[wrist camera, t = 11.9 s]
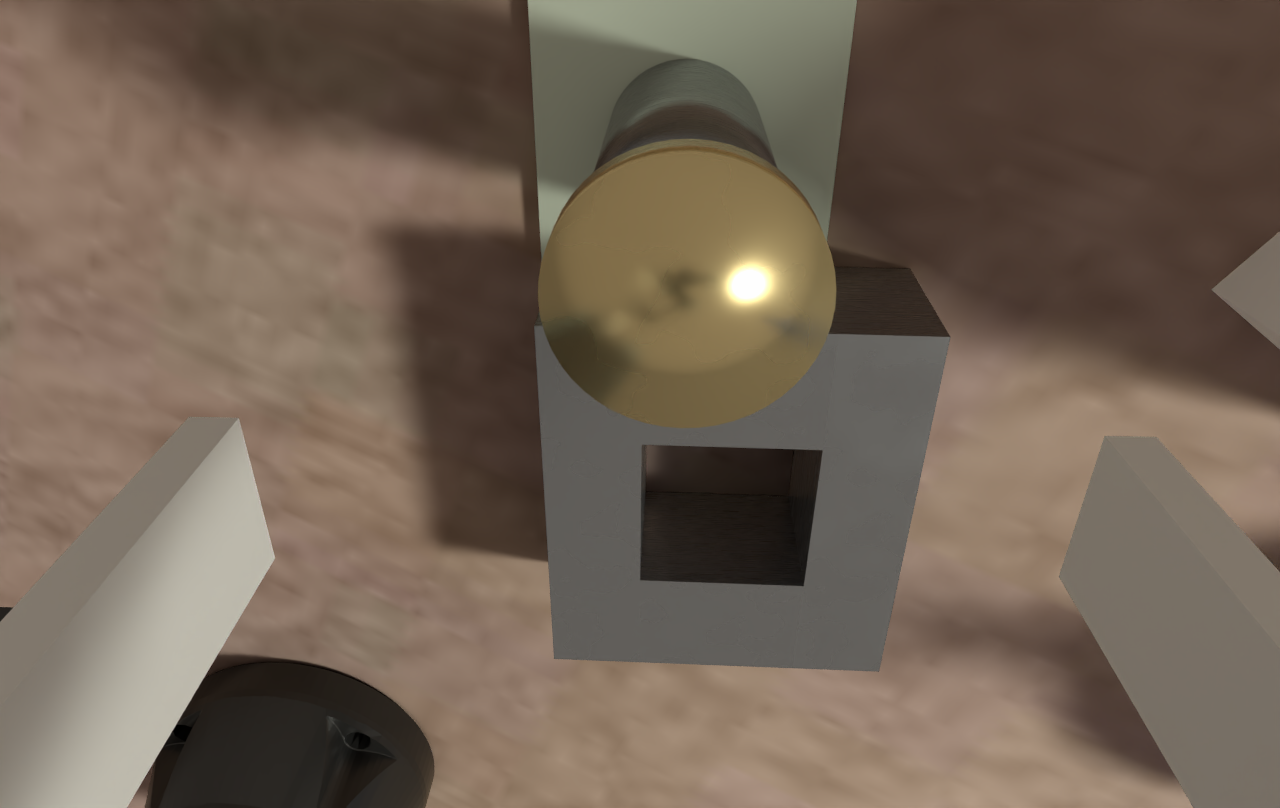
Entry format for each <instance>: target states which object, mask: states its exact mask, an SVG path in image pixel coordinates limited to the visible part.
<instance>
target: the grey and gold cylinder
mask: <svg viewBox="0 0 1280 808" xmlns="http://www.w3.org/2000/svg"><path fill="white" fill-rule="evenodd" d="M538 303H539V311H540V318H541V322H542V325H543V329H544V333H545V335H546V338H547V340H548V342H549V345H550V347H551V350H552V351H553V353H554V355H555V356H556V358H557V360H558V361H559V363H560V365H561V366H562V367H563V369H564V370H565V371H566V372H567V374H568V375H569V376H570V378H571V379H572V380H573V381H574V382H575V383H576V384H577V385H578V386H579V387H580V388H581V389H582V390H583V391H585V392H586V393H587V394H588V395H590V396H591V397H592V398H594V399H595V400H596V401H597V402H599V403H601V404H602V405H604V406H606V407H607V408H609V409H611V410H612V411H615V412H617V413H619V414H621V415H624V416H626V417H628V418H631V419H634V420H637V421H640V422H643V423H647V424H652V425H657V426H662V427H672V428H701V427H708V426H716V425H720V424H724V423H728V422H732V421H735V420H738V419H741V418H743V417H746V416H749V415H751V414H753V413H755V412H757V411H759V410H761V409H763V408H765V407H767V406H768V405H770V404H771V403H773V402H774V401H776V400H777V399H779V398H780V397H782V396H783V395H784V394H785V393H786V392H788V391H789V390H790V389H791V388H792V387H793V386H794V385H796V383H797V382H798V381H799V380H800V379H801V378H802V377H803V376H804V375H805V374H806V372H807V371H808V370H809V368H810V367H811V365H812V364H813V363H814V361H815V360H816V358H817V357H818V355H819V353H820V351H821V349H822V347H823V345H824V343H825V341H826V339H827V336H828V333H829V330H830V328H831V325H832V320H833V315H834V311H835V304H836V277H835V268H834V264H833V260H832V255H831V252H830V249H829V246H828V244H827V241H826V239H825V236H824V234H823V231H822V229H821V226H820V224H819V221H818V219H817V216H816V214H815V213H814V211H813V209H812V207H811V206H810V204H809V202H808V200H807V199H806V198H805V196H804V195H803V194H802V193H801V191H800V190H799V189H798V187H797V186H796V185H795V184H794V183H793V182H792V181H791V180H790V179H789V178H788V177H787V176H786V175H785V174H784V173H783V172H781V171H780V170H779V169H778V168H777V165H776V162H775V159H774V156H773V153H772V150H771V147H770V144H769V141H768V138H767V134H766V131H765V128H764V125H763V122H762V119H761V116H760V113H759V111H758V108H757V106H756V103H755V101H754V99H753V97H752V96H751V94H750V92H749V91H748V90H747V88H746V87H745V86H744V84H743V83H742V82H741V81H740V80H739V79H738V78H737V77H735V76H734V75H733V74H731V73H730V72H729V71H727V70H725V69H724V68H722V67H720V66H718V65H715V64H713V63H710V62H707V61H702V60H697V59H676V60H671V61H666V62H663V63H660V64H657V65H655V66H653V67H651V68H649V69H647V70H646V71H644V72H643V73H641V74H640V75H638V76H637V77H636V78H635V79H634V80H633V81H632V82H630V84H629V85H628V86H627V87H626V88H625V90H624V91H623V92H622V94H621V95H620V97H619V98H618V100H617V102H616V104H615V107H614V109H613V112H612V115H611V118H610V121H609V124H608V127H607V131H606V134H605V137H604V140H603V143H602V147H601V150H600V153H599V156H598V160H597V163H596V166H595V169H594V172H593V173H592V174H591V175H590V176H589V177H588V178H587V179H585V180H584V181H583V182H582V184H581V185H580V186H579V187H578V188H577V189H576V190H575V192H574V193H573V194H572V195H571V196H570V198H569V200H568V201H567V203H566V204H565V206H564V207H563V209H562V210H561V212H560V214H559V216H558V219H557V221H556V223H555V225H554V227H553V230H552V232H551V235H550V238H549V240H548V243H547V246H546V249H545V252H544V255H543V259H542V262H541V267H540V273H539V279H538Z"/></svg>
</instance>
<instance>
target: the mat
mask: <svg viewBox="0 0 1280 808" xmlns="http://www.w3.org/2000/svg"><path fill="white" fill-rule="evenodd" d="M856 4H857V0H528V15H529V34H530V53H531V72H532V91H533V109H534V128H535V147H536V166H537V185H538V204H539V223H540V242H541V261H542V259H543V255H544V252H545V249H546V246H547V243H548V240H549V238H550V235H551V232H552V230H553V227H554V225H555V223H556V221H557V219H558V216H559V214H560V212H561V210H562V209H563V207H564V206H565V204H566V203H567V201H568V200H569V198H570V196H571V195H572V194H573V193H574V192H575V190H576V189H577V188H578V187H579V186H580V185H581V184H582V182H583V181H584V180H585V179H587V178H588V177H589V176H590V175H591V174H592V173H593V172H594V169H595V166H596V163H597V160H598V156H599V153H600V150H601V147H602V143H603V140H604V137H605V134H606V131H607V127H608V124H609V121H610V118H611V115H612V112H613V109H614V107H615V104H616V102H617V100H618V98H619V97H620V95H621V94H622V92H623V91H624V90H625V88H626V87H627V86H628V85H629V84H630V82H632V81H633V80H634V79H635V78H636V77H637V76H638V75H640V74H641V73H643V72H644V71H646V70H647V69H649V68H651V67H653V66H655V65H657V64H660V63H663V62H666V61H671V60H676V59H697V60H702V61H707V62H710V63H713V64H715V65H718V66H720V67H722V68H724V69H725V70H727V71H729V72H730V73H731V74H733V75H734V76H735V77H737V78H738V79H739V80H740V81H741V82H742V83H743V84H744V86H745V87H746V88H747V90H748V91H749V92H750V94H751V96H752V97H753V99H754V101H755V103H756V106H757V108H758V111H759V113H760V116H761V119H762V122H763V125H764V128H765V131H766V134H767V138H768V141H769V144H770V147H771V150H772V153H773V156H774V159H775V162H776V165H777V168H778V169H779V170H780V171H781V172H783V173H784V174H785V175H786V176H787V177H788V178H789V179H790V180H791V181H792V182H793V183H794V184H795V185H796V186H797V187H798V189H799V190H800V191H801V193H802V194H803V195H804V196H805V198H806V199H807V200H808V202H809V204H810V206H811V207H812V209H813V211H814V213H815V214H816V216H817V219H818V221H819V224H820V226H821V229H822V231H823V234H824V236H825V239H826V241H827V237H828V229H829V221H830V213H831V205H832V197H833V189H834V181H835V173H836V165H837V156H838V148H839V140H840V132H841V124H842V116H843V108H844V100H845V92H846V84H847V76H848V68H849V60H850V52H851V44H852V36H853V28H854V20H855V12H856Z"/></svg>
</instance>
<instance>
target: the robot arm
mask: <svg viewBox="0 0 1280 808" xmlns="http://www.w3.org/2000/svg"><path fill="white" fill-rule="evenodd" d="M274 559H275V556H274V552H273V548H272V544H271V541H270V537H269V533H268V529H267V525H266V521H265V517H264V514H263V510H262V506H261V502H260V498H259V494H258V490H257V486H256V483H255V479H254V475H253V471H252V467H251V463H250V459H249V456H248V452H247V448H246V444H245V440H244V436H243V432H242V429H241V425H240V421H239V418H215V417H189V418H188V419H187V420H186V421H185V422H184V423H183V424H182V425H181V426H180V427H179V428H178V430H177V431H176V432H175V433H174V434H173V435H172V436H171V437H170V438H169V439H168V440H167V442H166V443H165V444H164V445H163V446H162V447H161V448H160V449H159V450H158V451H157V452H156V453H155V455H154V456H153V457H152V458H151V459H150V460H149V461H148V462H147V463H146V464H145V465H144V466H143V468H142V469H141V470H140V471H139V472H138V473H137V474H136V475H135V476H134V477H133V478H132V479H131V481H130V482H129V483H128V484H127V485H126V486H125V487H124V488H123V489H122V490H121V491H120V492H119V494H118V495H117V496H116V497H115V498H114V499H113V500H112V501H111V502H110V503H109V504H108V505H107V507H106V508H105V509H104V510H103V511H102V512H101V513H100V514H99V515H98V516H97V517H96V518H95V520H94V521H93V522H92V523H91V524H90V525H89V526H88V527H87V528H86V529H85V530H84V531H83V533H82V534H81V535H80V536H79V537H78V538H77V539H76V540H75V541H74V542H73V543H72V545H71V546H70V547H69V548H68V549H67V550H66V551H65V552H64V553H63V554H62V555H61V556H60V558H59V559H58V560H57V561H56V562H55V563H54V564H53V565H52V566H51V567H50V568H49V569H48V571H47V572H46V573H45V574H44V575H43V576H42V577H41V578H40V579H39V580H38V581H37V582H36V584H35V585H34V586H33V587H32V588H31V589H30V590H29V591H28V592H27V593H26V594H25V595H24V597H23V598H22V599H21V600H20V601H19V602H18V603H17V604H16V605H15V606H14V607H13V608H11V607H0V808H127V807H128V805H129V803H130V802H131V800H132V798H133V796H134V795H135V793H136V791H137V790H138V788H139V786H140V785H141V783H142V781H143V780H144V778H145V776H146V775H147V773H148V771H149V770H150V768H151V766H152V764H153V763H154V766H153V771H152V776H151V781H150V785H149V790H148V795H147V799H146V804H145V808H425V806H426V803H427V799H428V796H429V792H430V789H431V785H432V781H433V777H434V759H433V755H432V751H431V748H430V746H429V743H428V741H427V739H426V737H425V736H424V734H423V732H422V731H421V730H420V728H419V727H418V725H417V724H416V723H415V722H414V721H413V719H412V718H411V717H410V716H409V715H408V714H407V713H406V712H405V711H404V710H402V709H401V708H400V707H399V706H398V705H396V704H395V703H394V702H393V701H391V700H390V699H388V698H387V697H386V696H384V695H382V694H381V693H379V692H378V691H376V690H374V689H372V688H371V687H369V686H367V685H365V684H363V683H361V682H358V681H356V680H354V679H351V678H349V677H346V676H344V675H341V674H338V673H335V672H331V671H328V670H324V669H320V668H316V667H311V666H305V665H299V664H291V663H255V664H247V665H240V666H236V667H232V668H228V669H225V670H222V671H219V672H217V673H215V674H212V675H210V676H208V677H207V678H205V679H204V677H205V675H206V674H207V672H208V670H209V668H210V667H211V665H212V663H213V662H214V660H215V658H216V657H217V655H218V653H219V652H220V650H221V648H222V647H223V645H224V643H225V642H226V640H227V638H228V636H229V635H230V633H231V631H232V630H233V628H234V626H235V625H236V623H237V621H238V620H239V618H240V616H241V615H242V613H243V611H244V610H245V608H246V606H247V604H248V603H249V601H250V599H251V598H252V596H253V594H254V593H255V591H256V589H257V588H258V586H259V584H260V583H261V581H262V579H263V577H264V576H265V574H266V572H267V571H268V569H269V567H270V566H271V564H272V562H273V561H274ZM1059 577H1060V579H1061V581H1062V583H1063V584H1064V586H1065V588H1066V590H1067V591H1068V593H1069V595H1070V596H1071V598H1072V600H1073V602H1074V603H1075V605H1076V607H1077V608H1078V610H1079V612H1080V614H1081V615H1082V617H1083V619H1084V620H1085V622H1086V624H1087V626H1088V627H1089V629H1090V631H1091V632H1092V634H1093V636H1094V638H1095V639H1096V641H1097V643H1098V644H1099V646H1100V648H1101V650H1102V651H1103V653H1104V655H1105V656H1106V658H1107V660H1108V662H1109V663H1110V665H1111V667H1112V668H1113V670H1114V672H1115V674H1116V675H1117V677H1118V679H1119V680H1120V682H1121V684H1122V686H1123V687H1124V689H1125V691H1126V693H1127V694H1128V696H1129V698H1130V699H1131V701H1132V703H1133V705H1134V706H1135V708H1136V710H1137V711H1138V713H1139V715H1140V717H1141V718H1142V720H1143V722H1144V723H1145V725H1146V727H1147V729H1148V730H1149V732H1150V734H1151V735H1152V737H1153V739H1154V741H1155V742H1156V744H1157V746H1158V747H1159V749H1160V751H1161V753H1162V754H1163V756H1164V758H1165V759H1166V761H1167V763H1168V765H1169V766H1170V768H1171V770H1172V771H1173V773H1174V775H1175V777H1176V778H1177V780H1178V782H1179V783H1180V785H1181V787H1182V789H1183V790H1184V792H1185V794H1186V796H1187V797H1188V799H1189V801H1190V802H1191V804H1192V806H1193V808H1280V572H1279V571H1278V569H1277V568H1276V567H1275V566H1274V565H1273V564H1272V563H1271V562H1270V561H1269V560H1268V559H1267V557H1266V556H1265V555H1264V554H1263V553H1262V552H1261V551H1260V550H1259V549H1258V548H1257V547H1256V545H1255V544H1254V543H1253V542H1252V541H1251V540H1250V539H1249V538H1248V537H1247V536H1246V534H1245V533H1244V532H1243V531H1242V530H1241V529H1240V528H1239V527H1238V526H1237V525H1236V524H1235V522H1234V521H1233V520H1232V519H1231V518H1230V517H1229V516H1228V515H1227V514H1226V513H1225V512H1224V510H1223V509H1222V508H1221V507H1220V506H1219V505H1218V504H1217V503H1216V502H1215V501H1214V500H1213V498H1212V497H1211V496H1210V495H1209V494H1208V493H1207V492H1206V491H1205V490H1204V489H1203V488H1202V486H1201V485H1200V484H1199V483H1198V482H1197V481H1196V480H1195V479H1194V478H1193V477H1192V476H1191V474H1190V473H1189V472H1188V471H1187V470H1186V469H1185V468H1184V467H1183V466H1182V465H1181V463H1180V462H1179V461H1178V460H1177V459H1176V458H1175V457H1174V456H1173V455H1172V454H1171V453H1170V451H1169V450H1168V449H1167V448H1166V447H1165V446H1164V445H1163V444H1162V443H1161V442H1160V441H1159V439H1158V438H1157V437H1130V436H1105V437H1104V440H1103V443H1102V446H1101V449H1100V452H1099V455H1098V458H1097V461H1096V465H1095V468H1094V471H1093V474H1092V477H1091V480H1090V483H1089V486H1088V489H1087V492H1086V495H1085V498H1084V501H1083V504H1082V507H1081V510H1080V514H1079V517H1078V520H1077V523H1076V526H1075V529H1074V532H1073V535H1072V538H1071V541H1070V544H1069V547H1068V550H1067V553H1066V556H1065V559H1064V563H1063V566H1062V569H1061V572H1060V575H1059ZM154 761H155V762H154Z"/></svg>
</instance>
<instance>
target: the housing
mask: <svg viewBox="0 0 1280 808" xmlns="http://www.w3.org/2000/svg"><path fill="white" fill-rule="evenodd" d="M834 268H835V277H836V304H835V311H834V315H833V320H832V325H831V328H830V330H829V333H828V336H827V339H826V341H825V343H824V345H823V347H822V349H821V351H820V353H819V355H818V357H817V358H816V360H815V361H814V363H813V364H812V365H811V367H810V368H809V370H808V371H807V372H806V374H805V375H804V376H803V377H802V378H801V379H800V380H799V381H798V382H797V383H796V385H794V386H793V387H792V388H791V389H790V390H789V391H788V392H786V393H785V394H784V395H783V396H782V397H780V398H779V399H777V400H776V401H774V402H773V403H771V404H770V405H768V406H767V407H765V408H763V409H761V410H759V411H757V412H755V413H753V414H751V415H749V416H746V417H743V418H741V419H738V420H735V421H732V422H728V423H724V424H720V425H716V426H708V427H701V428H672V427H662V426H657V425H652V424H647V423H643V422H640V421H637V420H634V419H631V418H628V417H626V416H624V415H621V414H619V413H617V412H615V411H612V410H611V409H609V408H607V407H606V406H604V405H602V404H601V403H599V402H597V401H596V400H595V399H594V398H592V397H591V396H590V395H588V394H587V393H586V392H585V391H583V390H582V389H581V388H580V387H579V386H578V385H577V384H576V383H575V382H574V381H573V380H572V379H571V378H570V376H569V375H568V374H567V372H566V371H565V370H564V369H563V367H562V366H561V365H560V363H559V361H558V360H557V358H556V356H555V355H554V353H553V351H552V350H551V347H550V345H549V342H548V340H547V338H546V335H545V333H544V329H543V325H542V322H541V318H540V311H539V313H538V316H537V319H536V322H535V325H534V331H535V347H536V364H537V381H538V398H539V414H540V431H541V448H542V464H543V481H544V498H545V514H546V531H547V548H548V565H549V581H550V598H551V615H552V631H553V648H554V659H573V660H598V661H624V662H650V663H676V664H701V665H727V666H753V667H778V668H804V669H830V670H855V671H879V668H880V664H881V659H882V654H883V650H884V645H885V640H886V636H887V631H888V626H889V622H890V617H891V612H892V608H893V603H894V598H895V594H896V589H897V584H898V580H899V575H900V570H901V566H902V561H903V556H904V552H905V547H906V542H907V538H908V533H909V528H910V524H911V519H912V514H913V509H914V505H915V500H916V495H917V491H918V486H919V481H920V477H921V472H922V467H923V463H924V458H925V453H926V449H927V444H928V439H929V435H930V430H931V425H932V421H933V416H934V411H935V407H936V402H937V397H938V393H939V388H940V383H941V379H942V374H943V369H944V364H945V360H946V355H947V350H948V346H949V341H950V336H949V334H948V332H947V330H946V329H945V327H944V325H943V324H942V322H941V320H940V319H939V317H938V315H937V313H936V312H935V310H934V308H933V307H932V305H931V303H930V302H929V300H928V298H927V296H926V295H925V293H924V291H923V290H922V288H921V286H920V284H919V283H918V281H917V279H916V278H915V276H914V274H913V273H912V271H911V269H895V268H853V267H834ZM646 445H671V446H703V447H736V448H768V449H794V453H793V462H792V470H791V479H790V487H789V495H788V496H766V495H735V494H705V493H674V492H646Z"/></svg>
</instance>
